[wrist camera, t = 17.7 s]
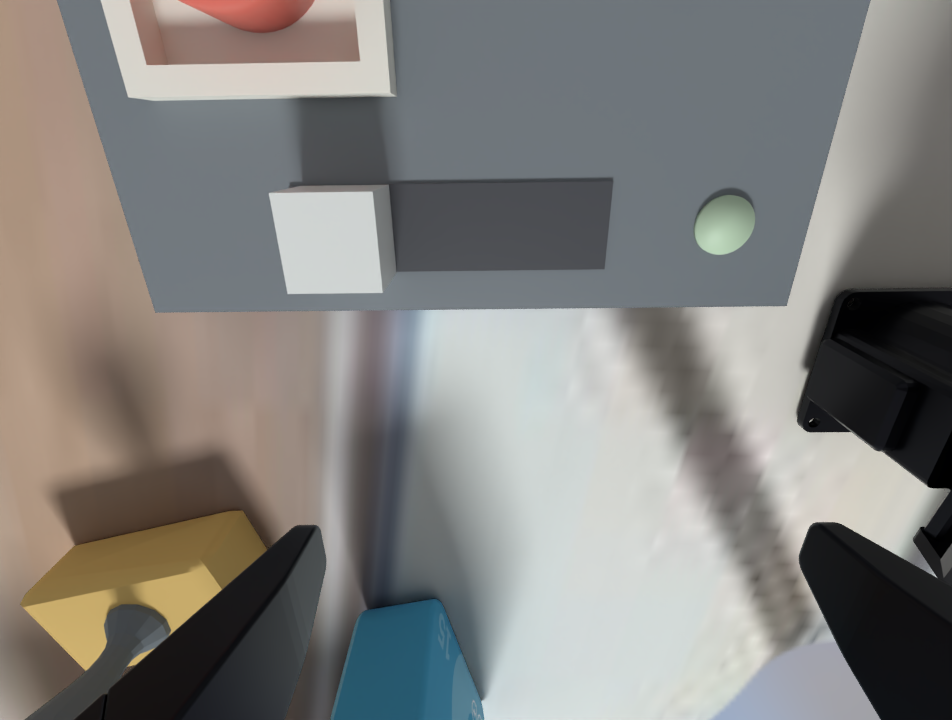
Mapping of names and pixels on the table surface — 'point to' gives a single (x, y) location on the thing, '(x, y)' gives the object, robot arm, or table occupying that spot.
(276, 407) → the table surface
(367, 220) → the block
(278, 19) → the cap
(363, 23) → the breaker panel
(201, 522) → the rubber stamp
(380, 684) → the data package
